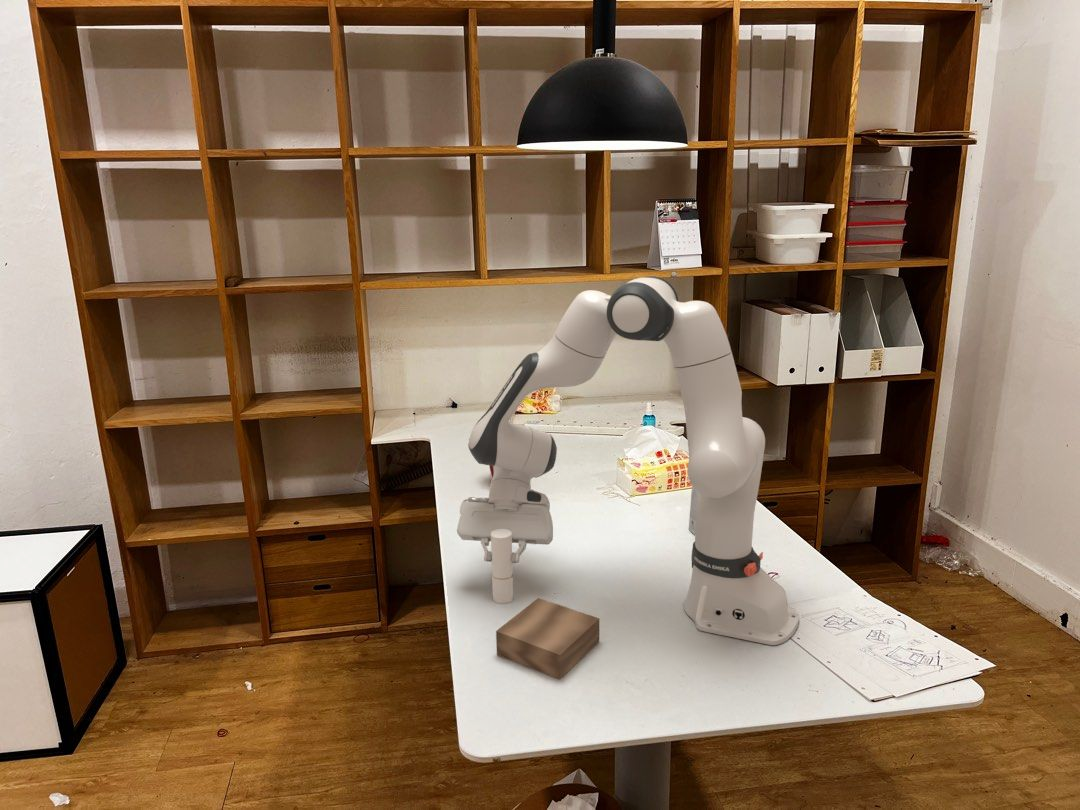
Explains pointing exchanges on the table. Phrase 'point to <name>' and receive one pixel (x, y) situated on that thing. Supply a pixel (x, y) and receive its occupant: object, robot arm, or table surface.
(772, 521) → the table surface
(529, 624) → the walnut stand
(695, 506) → the ink cartridge box
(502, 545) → the tube
